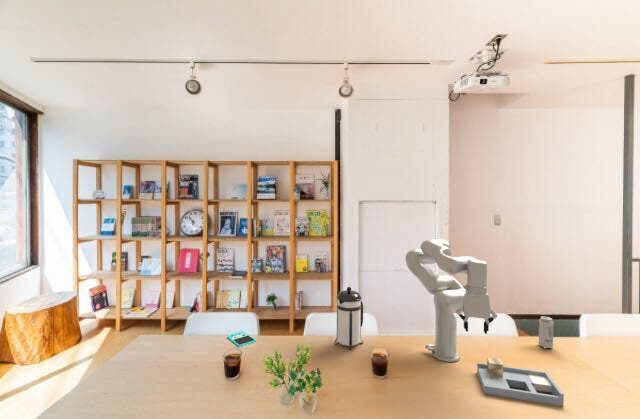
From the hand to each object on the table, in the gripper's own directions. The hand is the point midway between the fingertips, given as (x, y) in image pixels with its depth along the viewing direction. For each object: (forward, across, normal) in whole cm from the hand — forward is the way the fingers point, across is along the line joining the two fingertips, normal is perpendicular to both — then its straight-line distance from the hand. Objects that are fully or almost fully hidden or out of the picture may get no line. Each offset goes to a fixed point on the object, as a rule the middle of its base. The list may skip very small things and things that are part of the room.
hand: (475, 331), depth 135 cm
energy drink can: (+20, +40, +42) cm, 61 cm away
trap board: (+20, +14, -4) cm, 25 cm away
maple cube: (+17, +8, 0) cm, 18 cm away
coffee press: (+20, -58, +16) cm, 63 cm away
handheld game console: (+20, -114, +3) cm, 116 cm away
